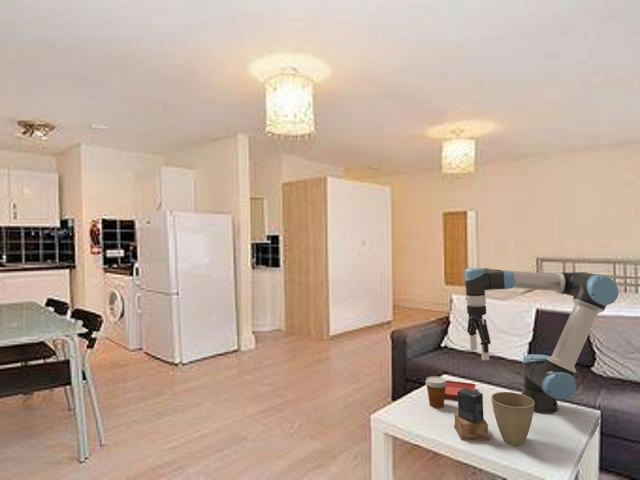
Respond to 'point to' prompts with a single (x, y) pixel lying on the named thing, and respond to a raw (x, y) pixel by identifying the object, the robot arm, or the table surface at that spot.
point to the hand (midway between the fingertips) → (479, 354)
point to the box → (470, 405)
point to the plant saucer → (456, 388)
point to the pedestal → (471, 429)
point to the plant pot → (513, 416)
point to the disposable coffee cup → (436, 391)
